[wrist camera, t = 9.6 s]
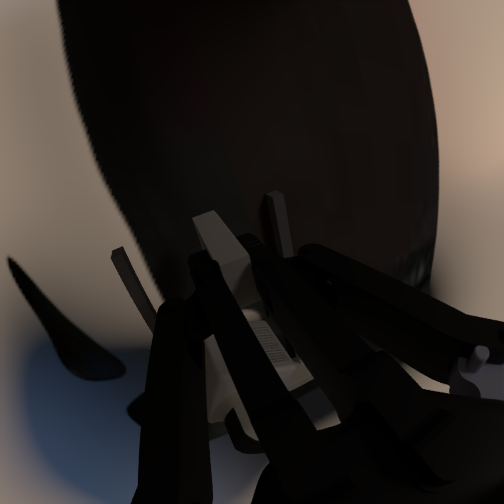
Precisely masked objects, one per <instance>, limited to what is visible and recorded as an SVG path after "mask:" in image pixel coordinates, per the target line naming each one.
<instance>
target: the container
mask: <svg viewBox="0 0 504 504" xmlns="http://www.w3.org/2000/svg"><path fill="white" fill-rule="evenodd" d="M248 323H249V325H250V326H251V328H252V330H253V332H254V333H255V335H256V337H257V339H258V340H259V342H260V344H261V346H262V347H263V349H264V351H265V352H266V354H267V356H268V358H269V359H270V361H271V363H272V364H273V366H274V368H275V369H276V371H277V373H278V374H279V376H280V378H281V379H282V381H283V383H284V384H285V386H286V388H287V386H288V384H289V382H290V380H291V378H292V376H293V374H294V372H295V370H296V365H295V364H294V362H293V361H292V359H291V358H290V356H289V355H288V353H287V352H286V351H285V349H284V348H283V346H282V345H281V343H280V342H279V340H278V339H277V337H276V336H275V334H274V333H273V331H272V330H271V328H270V327H269V325H268V324H267V322H266V321H248ZM204 342H205V367H206V397H207V418H208V422H210V423H213V422H221V421H224V423H225V426H226V428H227V431H228V433H229V436H230V438H231V440H232V443H233V445H234V447H235V449H236V450H238V451H240V452H242V453H246V454H257V453H258V454H259V453H265V452H264V450H263V448H262V446H261V444H260V442H259V440H258V438H257V435H256V433H255V431H254V429H253V427H252V425H251V422H250V419H249V416H248V414H247V412H246V410H245V408H244V406H243V403H242V401H241V399H240V397H239V394H238V392H237V390H236V388H235V385H234V383H233V381H232V378H231V376H230V374H229V371H228V369H227V367H226V364H225V362H224V359H223V357H222V355H221V352H220V350H219V347H218V345H217V342H216V340H215V337H214V335H211V336H210V337H208V338H207V339H206V340H204Z"/></svg>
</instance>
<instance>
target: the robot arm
mask: <svg viewBox="0 0 504 504" xmlns="http://www.w3.org/2000/svg"><path fill="white" fill-rule="evenodd" d="M192 219H193V222H194V225H195V228H196V231H197V234H198V237H199V240H200V243H201V246H202V249H203V251H200V252H197V253H195V254H192V255H189V258H188V264H189V267H190V274H191V277H192V279H193V282H194V284H195V287H196V289H195V292H194V293H193V294H192V295H191V296H190V297H189V298H188V299H186V300H185V301H184V300H183V299H180V298H172V299H169V300H167V301H165V302H164V303H163V304H162V305H161V306H160V307H159V309H158V312H157V317H156V322H155V328H154V333H153V339H152V345H151V351H150V357H149V364H148V371H147V378H146V386H145V394H144V402H143V412H142V422H141V433H140V447H139V467H138V487H137V489H136V492H135V494H134V497H133V499H132V502H131V504H212V502H213V486H212V475H211V463H210V450H209V435H208V418H207V397H206V367H205V342H204V340H206V339H207V338H208V337H210V336H211V335H214V337H215V340H216V342H217V345H218V347H219V350H220V352H221V355H222V357H223V359H224V362H225V364H226V367H227V369H228V371H229V374H230V376H231V378H232V381H233V383H234V385H235V388H236V390H237V392H238V394H239V397H240V399H241V401H242V403H243V406H244V408H245V410H246V412H247V414H248V416H249V419H250V422H251V425H252V427H253V429H254V431H255V433H256V435H257V438H258V440H259V442H260V444H261V446H262V448H263V450H264V452H265V454H266V455H267V458H268V460H269V464H268V465H267V466H266V467H265V469H264V470H263V472H262V474H261V476H260V478H259V480H258V483H257V486H256V489H255V493H254V496H253V499H252V502H251V504H504V322H502V321H497V320H492V319H487V318H482V317H477V316H472V315H467V314H465V313H463V312H461V311H459V310H457V309H455V308H453V307H451V306H449V305H447V304H445V303H443V302H441V301H439V300H437V299H435V298H433V297H431V296H429V295H427V294H425V293H423V292H421V291H419V290H417V289H415V288H413V287H411V286H409V285H407V284H405V283H403V282H401V281H398V280H396V279H394V278H392V277H390V276H388V275H386V274H384V273H382V272H379V271H377V270H375V269H373V268H371V267H369V266H367V265H364V264H362V263H360V262H358V261H356V260H353V259H351V258H349V257H347V256H345V255H342V254H340V253H338V252H336V251H334V250H331V249H329V248H327V247H325V246H322V245H319V244H307V245H304V246H302V247H301V248H300V249H299V250H298V256H294V257H288V258H283V257H282V256H281V255H280V254H278V253H276V252H270V251H269V250H268V249H267V248H266V247H265V246H264V245H263V244H262V243H261V242H260V241H259V240H258V239H257V237H256V236H255V235H252V234H249V233H246V234H244V235H241V236H238V237H235V236H234V235H233V234H232V232H231V231H230V230H229V229H228V227H227V226H226V225H225V224H224V222H223V221H222V220H221V219H220V217H219V216H218V215H217V213H216V212H215V211H214V210H213V211H210V212H207V213H205V214H202V215H199V216H196V217H193V218H192ZM327 280H329V281H330V282H332V284H330V283H328V282H327ZM259 294H260V295H261V297H262V299H263V303H264V307H265V311H266V315H267V317H269V313H270V315H271V316H272V318H273V319H274V321H275V322H276V324H277V325H278V327H279V328H280V330H281V331H282V333H283V334H284V336H285V337H286V339H287V340H288V341H289V343H290V344H291V346H292V347H293V349H294V350H295V352H296V353H297V355H298V356H299V357H300V359H301V360H302V362H303V363H304V365H305V366H306V368H307V369H308V370H309V372H310V373H311V375H312V376H313V378H314V379H315V381H316V382H317V383H318V385H319V386H320V388H321V389H322V390H323V392H324V393H325V394H326V396H327V398H328V399H329V400H330V402H331V403H332V405H333V406H334V408H335V409H336V411H337V414H338V417H339V419H340V422H341V423H340V424H338V425H335V426H332V427H328V428H325V429H322V430H318V431H317V430H316V428H315V427H314V425H313V423H312V422H311V420H310V419H309V417H308V416H307V414H306V412H305V411H304V409H303V408H302V407H301V405H300V403H299V402H298V401H297V400H296V399H294V398H293V397H292V396H291V394H290V393H289V391H288V389H287V388H286V386H285V384H284V383H283V381H282V379H281V378H280V376H279V374H278V373H277V371H276V369H275V368H274V366H273V364H272V363H271V361H270V359H269V358H268V356H267V354H266V352H265V351H264V349H263V347H262V346H261V344H260V342H259V340H258V339H257V337H256V335H255V333H254V332H253V330H252V328H251V326H250V325H249V323H248V321H247V319H246V318H245V316H244V314H243V312H242V310H241V308H243V307H245V306H248V305H250V304H253V303H255V302H257V301H260V296H259ZM356 332H357V333H358V334H360V335H361V336H363V337H365V338H366V339H368V340H369V341H371V342H372V343H374V344H376V345H377V346H379V347H380V348H382V349H383V350H385V351H387V352H388V353H390V354H391V355H393V356H394V357H396V358H398V359H399V360H401V361H402V362H404V363H406V364H407V365H409V366H410V367H412V368H414V369H415V370H417V371H418V372H420V373H422V374H424V375H425V376H427V377H429V378H431V379H433V380H435V381H438V382H440V383H443V384H447V385H449V386H450V389H449V393H450V394H449V393H443V392H437V391H431V390H426V389H422V388H421V387H420V386H419V385H418V383H417V382H416V381H415V380H414V379H413V378H412V377H411V376H410V375H409V374H408V373H407V372H406V371H405V370H404V369H403V368H402V367H401V366H400V365H399V364H398V363H397V362H396V361H395V360H394V359H393V357H392V356H391V355H389V354H388V353H387V352H385V351H382V350H381V351H378V352H375V351H373V350H372V349H371V348H370V347H369V346H368V345H367V344H366V343H365V342H364V341H363V340H362V339H361V337H360V336H359V335H358V334H357V333H356Z"/></svg>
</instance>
